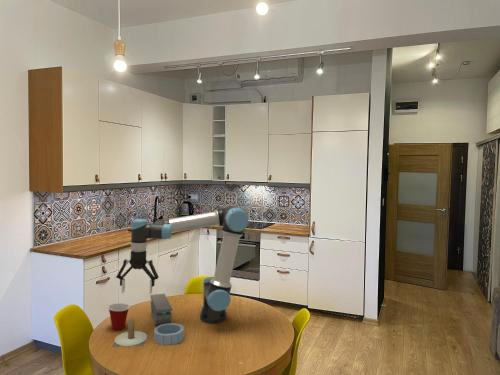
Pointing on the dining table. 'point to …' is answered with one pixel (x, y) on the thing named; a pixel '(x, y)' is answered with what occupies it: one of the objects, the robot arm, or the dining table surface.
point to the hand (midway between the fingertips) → (136, 292)
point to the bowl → (169, 334)
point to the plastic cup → (118, 315)
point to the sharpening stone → (160, 309)
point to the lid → (131, 336)
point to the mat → (136, 345)
